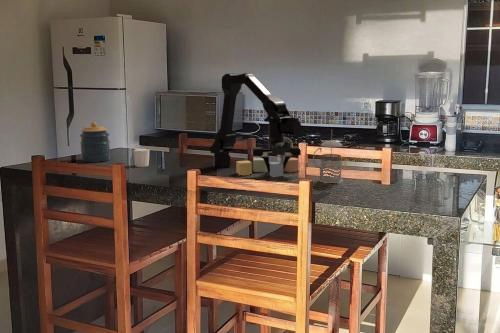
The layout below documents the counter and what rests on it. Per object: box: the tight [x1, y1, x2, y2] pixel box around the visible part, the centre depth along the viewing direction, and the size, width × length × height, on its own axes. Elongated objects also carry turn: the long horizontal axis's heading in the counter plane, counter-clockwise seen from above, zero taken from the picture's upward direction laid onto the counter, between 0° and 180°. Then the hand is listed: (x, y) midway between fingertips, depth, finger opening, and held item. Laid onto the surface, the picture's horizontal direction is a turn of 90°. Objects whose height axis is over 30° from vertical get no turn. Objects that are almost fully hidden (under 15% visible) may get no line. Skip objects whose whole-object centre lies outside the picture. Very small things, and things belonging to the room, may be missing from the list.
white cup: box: [132, 148, 150, 168], centre depth 241 cm, size 7×7×7 cm
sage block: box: [252, 157, 267, 173], centre depth 229 cm, size 5×5×5 cm
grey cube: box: [268, 161, 284, 177], centre depth 218 cm, size 5×5×5 cm
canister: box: [79, 121, 111, 163], centre depth 253 cm, size 13×13×18 cm
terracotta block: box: [284, 157, 299, 173], centre depth 228 cm, size 5×5×5 cm
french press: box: [312, 114, 344, 184], centre depth 207 cm, size 10×12×25 cm
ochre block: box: [235, 160, 253, 176], centre depth 222 cm, size 5×5×5 cm
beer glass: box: [276, 136, 294, 162], centre depth 231 cm, size 7×7×15 cm
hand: (275, 173), depth 219 cm, fingers closed on grey cube, 5 cm apart
